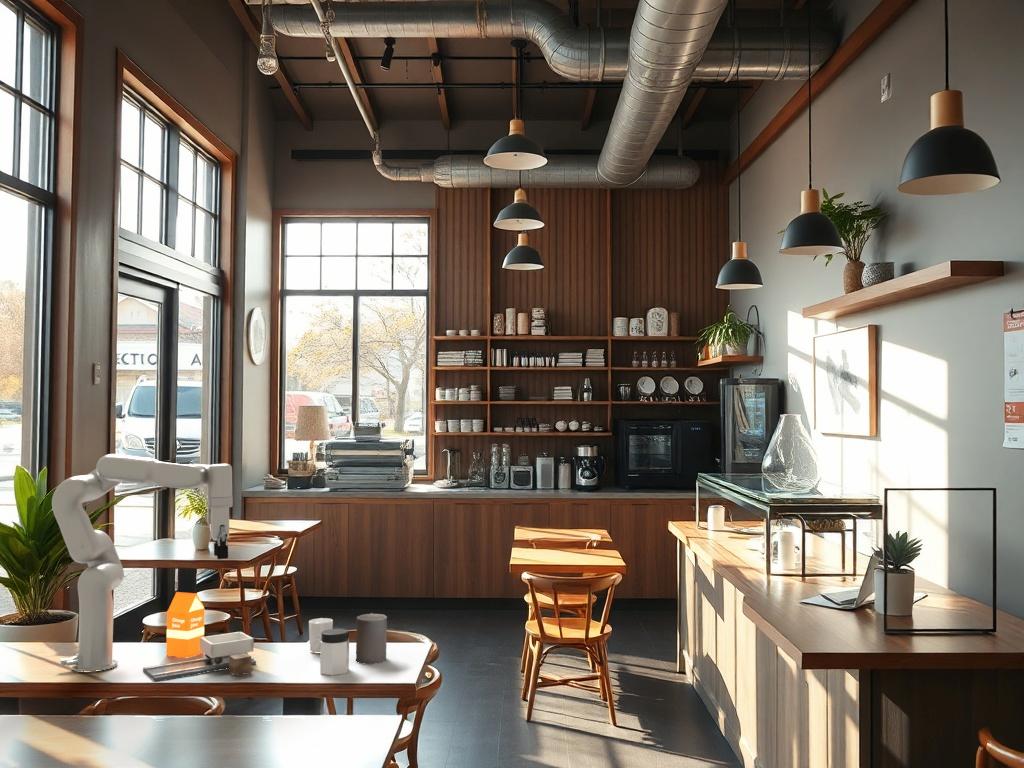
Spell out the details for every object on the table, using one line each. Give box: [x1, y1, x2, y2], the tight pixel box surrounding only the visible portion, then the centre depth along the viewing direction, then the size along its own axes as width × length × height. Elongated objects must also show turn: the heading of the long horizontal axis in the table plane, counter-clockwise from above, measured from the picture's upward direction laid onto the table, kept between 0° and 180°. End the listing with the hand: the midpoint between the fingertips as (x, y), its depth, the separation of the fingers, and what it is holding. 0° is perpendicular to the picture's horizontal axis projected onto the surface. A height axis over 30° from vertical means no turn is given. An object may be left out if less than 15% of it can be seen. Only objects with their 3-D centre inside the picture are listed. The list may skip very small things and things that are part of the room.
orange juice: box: [165, 591, 205, 659], centre depth 274 cm, size 8×9×20 cm
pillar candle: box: [355, 612, 388, 665], centre depth 265 cm, size 10×10×15 cm
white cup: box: [308, 617, 334, 652], centre depth 276 cm, size 8×8×10 cm
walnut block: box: [228, 653, 252, 676], centre depth 251 cm, size 5×5×5 cm
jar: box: [319, 628, 350, 677], centre depth 252 cm, size 9×8×12 cm
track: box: [142, 654, 257, 682], centre depth 257 cm, size 30×14×1 cm, turn 127°
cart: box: [200, 631, 255, 664], centre depth 262 cm, size 13×12×6 cm
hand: (221, 556), depth 263 cm, fingers open, 9 cm apart
